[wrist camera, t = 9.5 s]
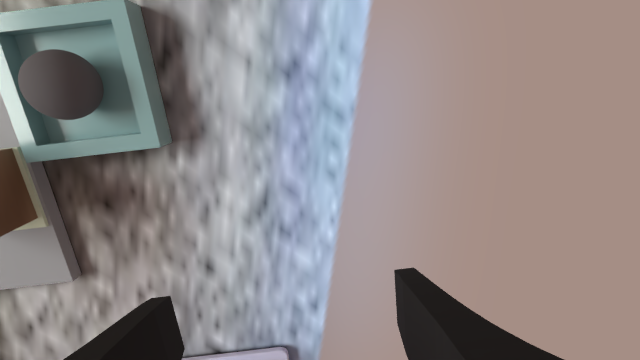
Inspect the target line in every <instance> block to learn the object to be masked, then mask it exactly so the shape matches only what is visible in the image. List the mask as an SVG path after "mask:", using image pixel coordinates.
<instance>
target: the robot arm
mask: <svg viewBox="0 0 640 360" xmlns="http://www.w3.org/2000/svg"><path fill="white" fill-rule="evenodd" d="M395 288H396V306H397V323H398V327H399V331H400V334H401V338H402V341H403V345H404V348H405V351H406V354H407V357H408V359H409V360H564V359H561V358H559V357H557V356H555V355H552V354H550V353H548V352H546V351H544V350H541V349H539V348H537V347H535V346H533V345H531V344H529V343H527V342H525V341H523V340H521V339H520V338H518V337H515V336H514V335H512V334H510V333H508V332H507V331H505V330H503V329H501V328H499V327H498V326H496V325H494V324H492V323H491V322H489V321H487V320H486V319H484V318H483V317H481V316H480V315H478V314H476V313H475V312H473V311H472V310H470V309H469V308H467V307H466V306H464V305H463V304H461V303H460V302H458V301H457V300H456V299H454V298H453V297H451V296H450V295H449V294H447V293H446V292H445V291H443V290H442V289H440V288H439V287H438V286H437V285H435V284H434V283H433V282H431V281H430V280H429V279H428V278H426V277H425V276H424V275H422V274H421V273H420V272H418V271H417V270H416V269H415V268H407V269H399V270H395ZM184 349H185V348H184V345H183V341H182V337H181V334H180V330H179V326H178V323H177V319H176V316H175V312H174V308H173V305H172V301H171V297H170V296H166V297H158V298H151V299H149V300H148V301H146V302H144V303H143V304H141V305H140V306H138V307H137V308H135V309H134V310H132V311H131V312H130V313H128V314H127V315H126V316H124V317H123V318H121V319H120V320H119V321H117V322H116V323H115V324H113V325H112V326H110V327H109V328H108V329H106V330H105V331H104V332H102V333H101V334H99V335H98V336H97V337H95V338H94V339H93V340H91V341H90V342H88V343H87V344H86V345H84V346H83V347H81V348H80V349H78V350H77V351H75V352H74V353H72V354H71V355H70V356H68V357H67V358H65V359H64V360H289V355H288V351H287V349H286V348H284V347H275V348H267V349H258V350H250V351H241V352H233V353H224V354H215V355H207V356H198V357H190V358H182V356H183V352H184Z"/></svg>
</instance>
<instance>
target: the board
mask: <svg viewBox="0 0 640 360" xmlns="http://www.w3.org/2000/svg"><path fill="white" fill-rule="evenodd" d="M9 148H12V150H13V152H14V155H15V158H16V160H17V163H18V166H19V168H20V171H21V174H22V176H23V179H24V182H25V184H26V187H27V190H28V192H29V195H30V198H31V200H32V203H33V205H34V208H35V211H36V213H37V216H38V218H37V219H35V220H33V221H31V222H29V223H27V224H25V225H23V226H21V227H19V228H17V229H15V230H13V231H11V232H9V233H7V234H5V235H3V236H1V237H0V290H2V289H11V288H19V287H28V286H36V285H45V284H53V283H62V282H71V281H74V280H75V279H76V278H77V277H79V276H80V275H81V271H80V268H79V266H78V263H77V260H76V257H75V254H74V251H73V249H72V246H71V243H70V240H69V237H68V234H67V231H66V229H65V226H64V223H63V220H62V217H61V214H60V212H59V209H58V206H57V203H56V200H55V197H54V195H53V192H52V189H51V186H50V183H49V180H48V178H47V175H46V172H45V169H44V166H43V163H42V161H39V162H31V163H26V161H25V158H24V155H23V152H22V150H21V147H20V144H19V141H18V139H17V136H16V133H15V130H14V128H13V125H12V122H11V120H10V117H9V114H8V111H7V109H6V106H5V103H4V100H3V98H2V95H1V92H0V150H1V149H9Z"/></svg>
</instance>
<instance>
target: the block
mask: <svg viewBox="0 0 640 360" xmlns="http://www.w3.org/2000/svg"><path fill="white" fill-rule="evenodd" d="M37 218H38V216H37V213H36V211H35V208H34V205H33V203H32V200H31V198H30V195H29V192H28V190H27V187H26V184H25V182H24V179H23V176H22V174H21V171H20V168H19V166H18V163H17V160H16V158H15V155H14V152H13V150H12V148H9V149H1V150H0V237H1V236H3V235H5V234H7V233H9V232H11V231H13V230H15V229H17V228H19V227H21V226H23V225H25V224H27V223H29V222H31V221H33V220H35V219H37Z"/></svg>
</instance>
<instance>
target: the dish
mask: <svg viewBox="0 0 640 360" xmlns="http://www.w3.org/2000/svg"><path fill="white" fill-rule="evenodd" d="M49 49H58V50H65V51H69V52H72V53H75V54H77V55H79V56H81V57H82V58H84V59H85V60H87V61H88V62H89V63H91V64H92V65H93V67H94V68H95V69H96V70H97V72H98V73H99V75H100V77H101V79H102V82H103V88H104V94H103V98H102V101H101V103H100V105H99V106H98V108H97V109H96V110H95V111H94V112H92V113H91V114H89V115H87V116H85V117H83V118H79V119H75V120H61V119H56V118H52V117H49V116H47V115H44V114H42V113H41V112H39V111H37V110H36V109H35V108H33V107H32V106H31V105H30V104H29V103H28V102H27V101H26V99H25V98H24V97H23V95H22V93H21V91H20V88H19V84H18V74H19V70H20V68H21V66H22V64H23V62H24V61H25V60H26V59H27V58H28V57H30V56H31V55H33V54H35V53H37V52H40V51H43V50H49ZM0 92H1V95H2V98H3V100H4V103H5V106H6V109H7V111H8V114H9V117H10V120H11V122H12V125H13V128H14V130H15V133H16V136H17V139H18V141H19V144H20V147H21V150H22V152H23V155H24V158H25V161H26V163H31V162H39V161H48V160H56V159H65V158H73V157H82V156H90V155H99V154H108V153H116V152H125V151H133V150H142V149H150V148H159V147H162V146H165V145H167V144H169V143H172V138H171V134H170V130H169V126H168V121H167V117H166V113H165V109H164V104H163V100H162V96H161V92H160V88H159V83H158V79H157V75H156V71H155V66H154V62H153V58H152V54H151V50H150V45H149V41H148V37H147V33H146V29H145V24H144V20H143V16H142V12H141V7H140V6H139V5H137V4H135V3H133V2H131V1H128V0H104V1H96V2H87V3H78V4H70V5H61V6H53V7H44V8H36V9H27V10H19V11H10V12H2V13H0Z"/></svg>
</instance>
